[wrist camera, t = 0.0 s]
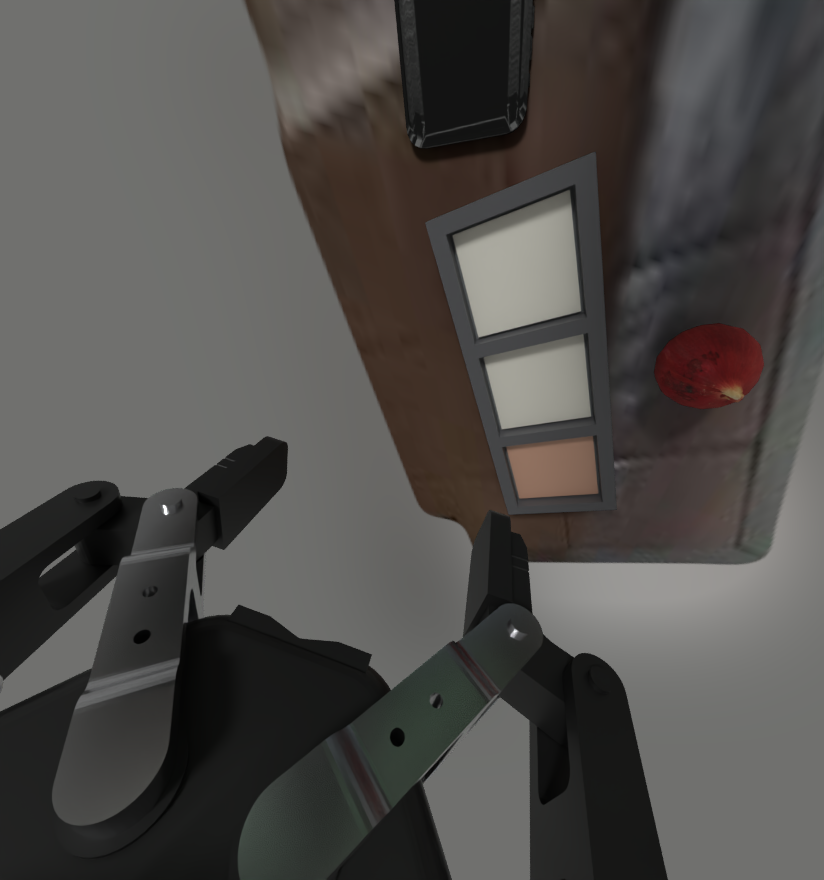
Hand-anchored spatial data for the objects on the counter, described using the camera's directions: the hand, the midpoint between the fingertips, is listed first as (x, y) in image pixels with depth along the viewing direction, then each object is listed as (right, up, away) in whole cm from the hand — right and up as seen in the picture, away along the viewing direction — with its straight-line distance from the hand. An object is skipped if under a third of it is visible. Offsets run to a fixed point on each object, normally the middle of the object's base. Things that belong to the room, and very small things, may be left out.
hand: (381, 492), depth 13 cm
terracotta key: (+16, -1, +23) cm, 28 cm away
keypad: (+13, +8, +19) cm, 24 cm away
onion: (+23, +9, +14) cm, 29 cm away
